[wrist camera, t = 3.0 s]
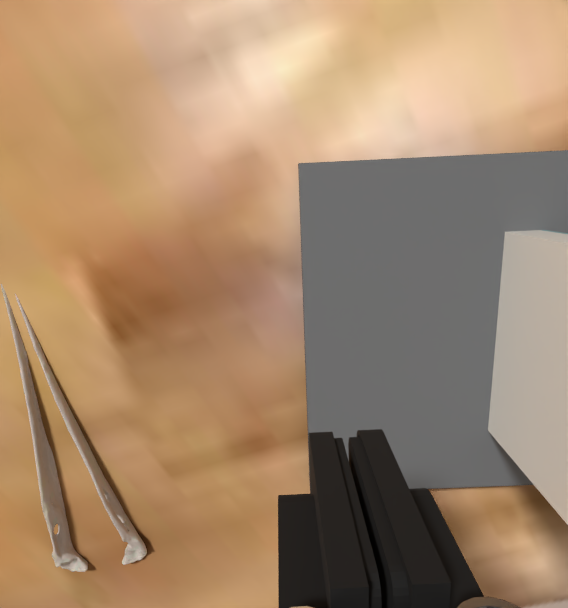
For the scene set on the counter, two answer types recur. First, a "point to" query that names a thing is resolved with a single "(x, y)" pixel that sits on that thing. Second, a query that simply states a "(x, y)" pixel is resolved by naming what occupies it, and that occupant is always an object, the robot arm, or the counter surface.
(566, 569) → the counter surface
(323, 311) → the mat
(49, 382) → the old metal nails
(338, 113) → the counter surface
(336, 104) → the counter surface
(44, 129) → the counter surface
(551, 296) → the tile
